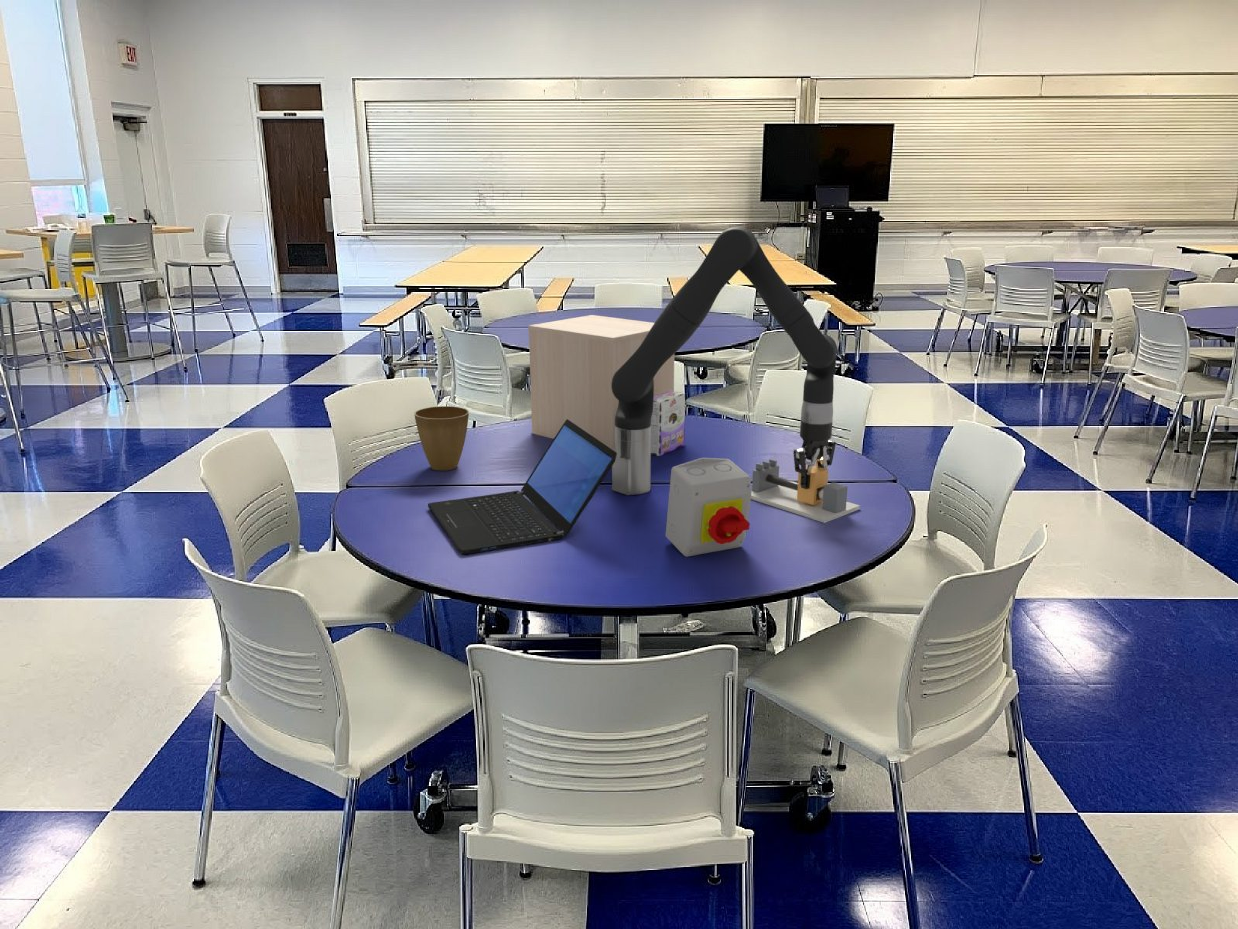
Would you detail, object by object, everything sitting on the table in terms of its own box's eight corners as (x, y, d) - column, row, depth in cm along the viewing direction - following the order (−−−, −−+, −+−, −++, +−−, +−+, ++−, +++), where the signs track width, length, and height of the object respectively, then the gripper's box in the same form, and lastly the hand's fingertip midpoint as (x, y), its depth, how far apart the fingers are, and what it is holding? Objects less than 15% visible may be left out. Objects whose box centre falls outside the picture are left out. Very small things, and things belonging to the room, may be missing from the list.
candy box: (668, 442, 288) (669, 390, 283) (685, 445, 285) (686, 392, 280) (643, 453, 278) (643, 398, 273) (660, 456, 274) (660, 401, 269)
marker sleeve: (796, 500, 233) (798, 469, 230) (809, 495, 236) (811, 465, 234) (813, 505, 229) (815, 473, 227) (826, 500, 233) (828, 469, 230)
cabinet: (674, 433, 298) (676, 325, 288) (614, 453, 277) (613, 337, 267) (593, 416, 320) (592, 314, 310) (531, 433, 299) (528, 325, 289)
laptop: (427, 510, 233) (422, 434, 227) (569, 490, 247) (568, 418, 241) (460, 558, 204) (455, 473, 198) (619, 532, 218) (619, 452, 212)
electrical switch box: (695, 576, 199) (704, 491, 190) (664, 542, 211) (671, 461, 202) (755, 564, 204) (766, 482, 196) (722, 532, 217) (731, 453, 208)
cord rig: (744, 496, 240) (745, 466, 238) (779, 485, 249) (780, 455, 246) (824, 523, 222) (826, 490, 220) (859, 509, 231) (861, 477, 229)
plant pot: (448, 478, 256) (445, 421, 251) (406, 470, 263) (402, 414, 258) (482, 463, 268) (479, 409, 263) (441, 456, 275) (438, 403, 270)
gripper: (810, 427, 219) (806, 496, 224) (847, 416, 228) (842, 483, 233) (785, 421, 225) (781, 488, 230) (822, 411, 234) (818, 476, 239)
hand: (812, 485), depth 232 cm, fingers closed on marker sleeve, 5 cm apart
